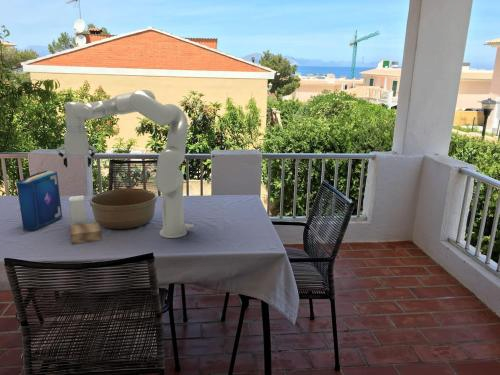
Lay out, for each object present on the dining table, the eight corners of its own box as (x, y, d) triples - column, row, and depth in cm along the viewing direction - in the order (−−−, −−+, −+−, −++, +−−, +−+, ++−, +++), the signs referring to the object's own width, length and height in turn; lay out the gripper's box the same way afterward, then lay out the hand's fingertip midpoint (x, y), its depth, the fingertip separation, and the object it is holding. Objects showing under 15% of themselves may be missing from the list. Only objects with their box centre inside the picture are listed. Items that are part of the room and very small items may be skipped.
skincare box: (86, 231, 194) (84, 199, 190) (71, 232, 192) (68, 200, 188) (86, 225, 202) (84, 194, 198) (72, 226, 199) (69, 196, 195)
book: (33, 232, 190) (27, 180, 184) (20, 231, 192) (13, 179, 185) (63, 218, 211) (58, 170, 205) (51, 216, 212) (45, 169, 206)
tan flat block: (98, 232, 194) (97, 222, 193) (101, 241, 183) (100, 230, 182) (71, 235, 189) (70, 225, 188) (72, 245, 179) (70, 234, 177)
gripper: (96, 128, 191) (97, 164, 196) (55, 128, 185) (58, 165, 190) (96, 130, 184) (97, 167, 189) (53, 130, 178) (56, 168, 183)
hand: (77, 166), depth 189 cm, fingers open, 9 cm apart
